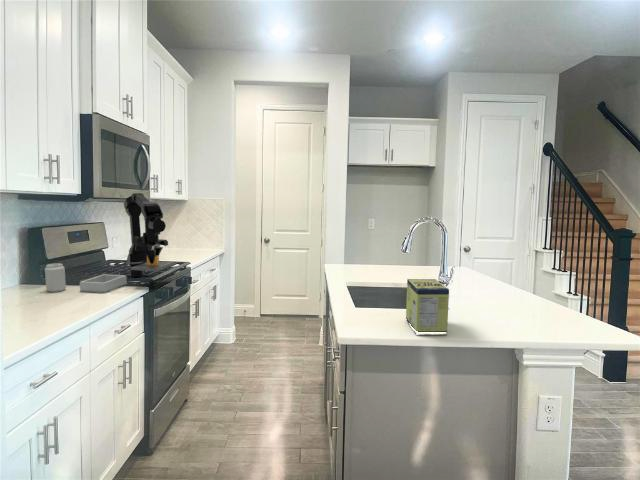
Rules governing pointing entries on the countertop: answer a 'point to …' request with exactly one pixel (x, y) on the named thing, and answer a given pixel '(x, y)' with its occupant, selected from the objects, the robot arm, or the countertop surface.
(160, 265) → the grey lid
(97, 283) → the tub
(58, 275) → the can
